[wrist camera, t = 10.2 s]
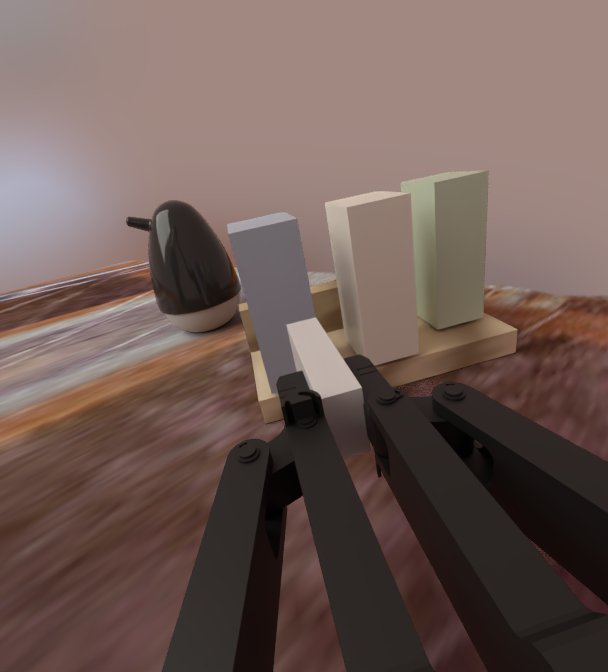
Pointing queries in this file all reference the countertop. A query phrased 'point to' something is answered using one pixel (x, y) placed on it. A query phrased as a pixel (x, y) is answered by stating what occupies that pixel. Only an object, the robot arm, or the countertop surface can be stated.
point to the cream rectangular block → (375, 273)
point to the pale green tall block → (449, 245)
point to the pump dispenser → (189, 268)
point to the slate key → (273, 285)
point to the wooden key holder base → (433, 359)
